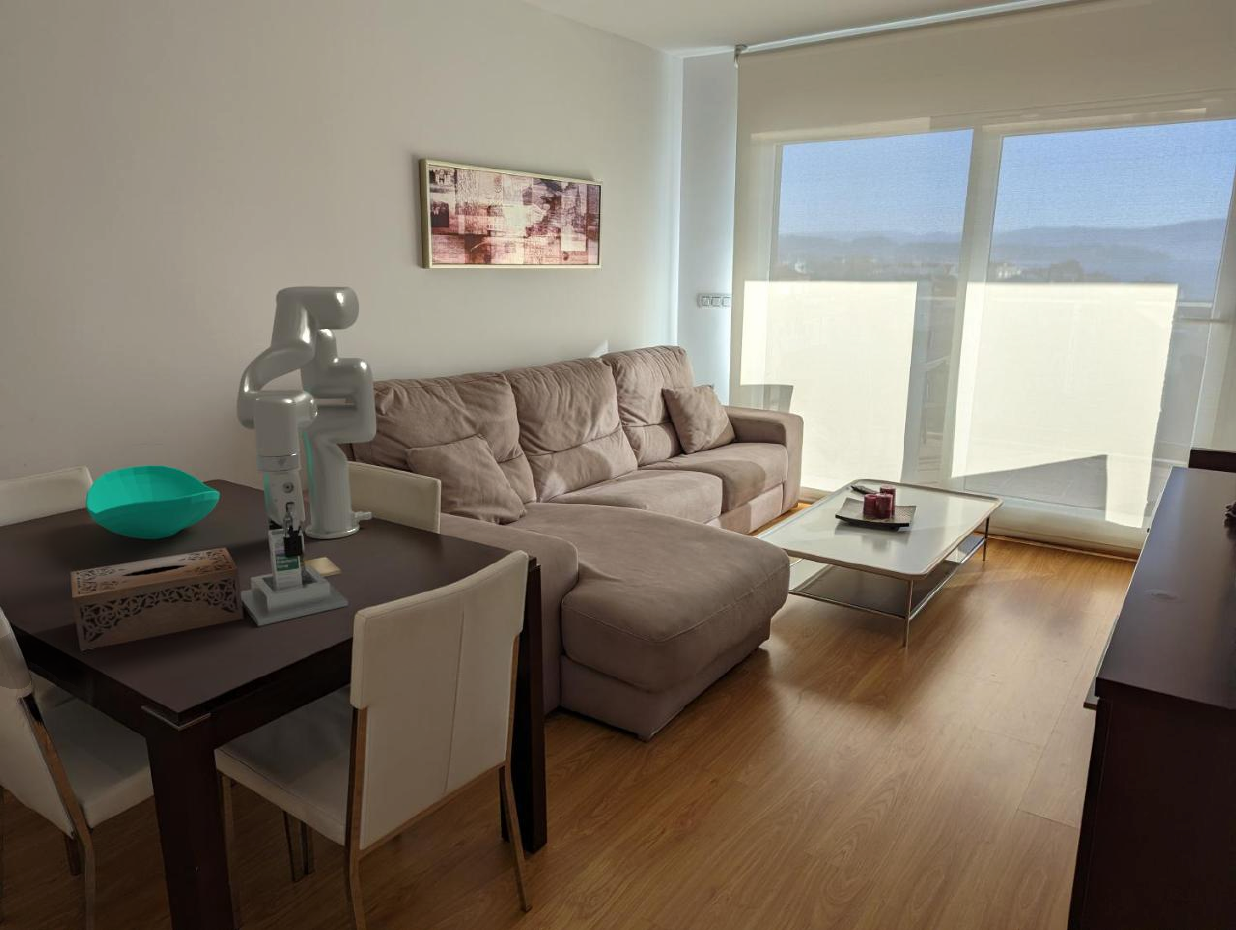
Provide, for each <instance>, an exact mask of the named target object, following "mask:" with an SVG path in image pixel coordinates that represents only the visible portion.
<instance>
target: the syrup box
mask: <svg viewBox="0 0 1236 930" xmlns="http://www.w3.org/2000/svg"><path fill="white" fill-rule="evenodd" d="M287 528H288V529H289V527H287ZM267 533H268V535H267V536H268V543H269V544H268V545H269V551H270V552H269V553H270V562H271V572H272V573H271V574H273V584H274V591H278V590H283V589H288V588H293V587H297V586H302V585H307V574H306V563H305V561H306V555H305V554H306V553H305V544H304V543H305V541H304V535H303V532H302V530H301V533H302V547H303V555H301V556H296V557H291V558H286V557H285V554H284V542H283V537H285V534H284V531H283V529H277V530H268V531H267Z"/></svg>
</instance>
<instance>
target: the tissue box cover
mask: <svg viewBox="0 0 1236 930" xmlns="http://www.w3.org/2000/svg"><path fill="white" fill-rule="evenodd" d="M70 581H71V596H72V603H73V610H74V617H75V624H76V630H77V637H78V643H79V650H82V649H89V648H95V647H100V648H105V647H109V645H110V646H114V645H115V646H116V645H119V644H123V643H124V644H125V643H130V642H133V641H135V642H136V641H139V640H140V641H141V640H144V639H150V638H154V637H159V636H164V635H169V634H175V633H180V632H184V631H188V630H193V629H198V628H204V627H207V626H213V625H219V624H223V623H229V622H233V621H239V620H242V619H244V612H243V611H244V610H243V605H242V600H241V591H242V590H241V581H240V573H239V568H238V566H237V565H236V563H235V561H234V560H233V558H232V556H231V555H230V553H229V551H228V549H227V548H226V547H219V548H214V549H206V550H200V551H195V552H189V553H183V554H182V553H181V554H174V555H170V556H169V555H168V556H162V557H157V558H150V559H144V560H137V561H131V562H130V561H129V562H126V563H125V562H124V563H118V564H111V565H107V566H106V565H104V566H98V567H93V568H88V569H87V568H86V569H80V570H74V571H70ZM104 646H105V647H104Z"/></svg>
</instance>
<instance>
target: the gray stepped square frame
mask: <svg viewBox="0 0 1236 930" xmlns="http://www.w3.org/2000/svg"><path fill="white" fill-rule="evenodd" d="M306 574H307V585H302V586H297V587H293V588H288V589H283V590H278V591H274V584H273V574H272V573H268V574H262V575H257V576H253V577H250V584H251V589H247V590H241V600H242V608H244V610H245V611H246V612H247V613H248V614H249V616H250V617H251V618H252V620H253V621H254V622H255V624H256V625H257V626H258V627H262V626H266V625H271V624H274V623H278V622H283V621H287V620H292V619H298V618H300V617H304V616H309V615H313V614H319V613H322V612H326V611H327V612H328V611H331V610H335V609H340V608H344V607H347V606H348V605H349V603H348V599H347V598H346V597H345V596H344V595H342V594H341V592H339V591H338V590H337V589H336V588H335V587H334V586H333V585H332V584H331V583H330V581H328V580H327V579H326V578H325V577H323V576H322V575H321V574H320V573H318V572H317V571H316V570H315V569H314V568H313V567H312V566H307V567H306Z"/></svg>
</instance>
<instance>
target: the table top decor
mask: <svg viewBox="0 0 1236 930" xmlns="http://www.w3.org/2000/svg"><path fill="white" fill-rule="evenodd" d="M220 495H221V494H220V492H219V491H218V490H216V489H214V488H212V487H210V486H208V485H206V484H205V483H203V482H202V481H201V480H200V479H198V478H197V477H196V476H194V475H192V474H190V473H188V472H186V471H183V470H181V469H180V468H179V469H178V468H175V467H172V466H166V465H149V464H148V465H139V466H137V465H136V466H131V467H125V468H118V469H115V470H112V471H109V472H106V473H104V474H102V475H101V476H100V477H99V478H96V480H94V481H93V482H92V484H91V486H90V487H89V489H88V491H87V493H86V500H85V507H86V509H87V512H88V513H89V515H90V518H91V519H93V521H95V522H96V523H97V524H98V525H99V526H101V527H103V528H105V529H107V530H108V531H110V532H112V533H114V534H116V535H121V536H124V537H129V538H137V539H144V540H145V539H147V540H156V539H163V538H167V537H168V538H169V537H172V536H174V535H176V534H178V533H179V532H180V531H181V530H184V529H186V528H189V527H191V526H193V525H194V524H196V523H198V522H199V521H201V520H203V519H204V518H206V517H207V515H209V514H210V513H211V512H212V511H213V510H214V509H215V507H216V506H217V504H218V503H219V500H220Z"/></svg>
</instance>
